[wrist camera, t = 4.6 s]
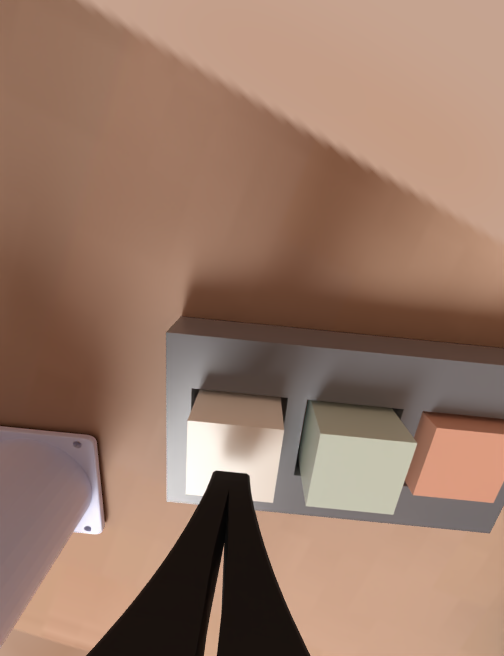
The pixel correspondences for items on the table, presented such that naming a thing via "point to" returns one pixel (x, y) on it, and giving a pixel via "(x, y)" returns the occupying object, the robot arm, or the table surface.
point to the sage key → (354, 457)
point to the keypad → (331, 399)
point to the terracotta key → (457, 457)
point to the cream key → (234, 440)
